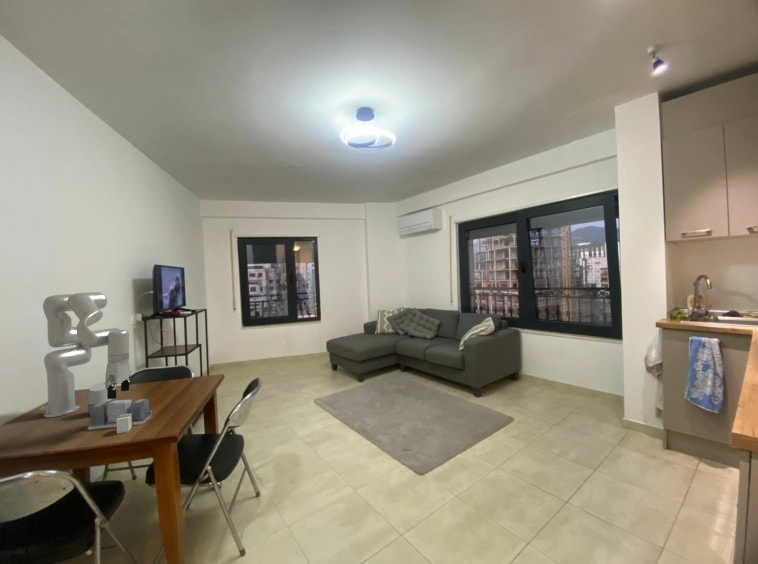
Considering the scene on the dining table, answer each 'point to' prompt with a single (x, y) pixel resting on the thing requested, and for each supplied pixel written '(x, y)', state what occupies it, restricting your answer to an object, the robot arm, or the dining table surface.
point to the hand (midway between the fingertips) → (118, 394)
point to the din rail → (101, 421)
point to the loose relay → (124, 423)
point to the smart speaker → (98, 395)
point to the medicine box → (118, 409)
